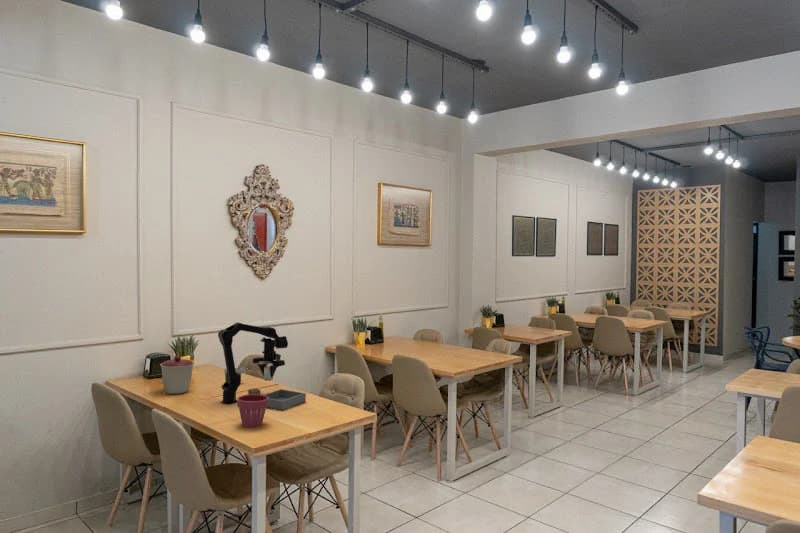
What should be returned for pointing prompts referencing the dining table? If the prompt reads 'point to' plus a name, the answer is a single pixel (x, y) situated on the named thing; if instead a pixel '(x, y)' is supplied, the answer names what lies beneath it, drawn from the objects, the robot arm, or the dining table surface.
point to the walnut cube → (253, 391)
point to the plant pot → (252, 409)
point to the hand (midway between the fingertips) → (268, 376)
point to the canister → (176, 375)
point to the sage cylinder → (267, 373)
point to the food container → (238, 370)
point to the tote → (284, 399)
